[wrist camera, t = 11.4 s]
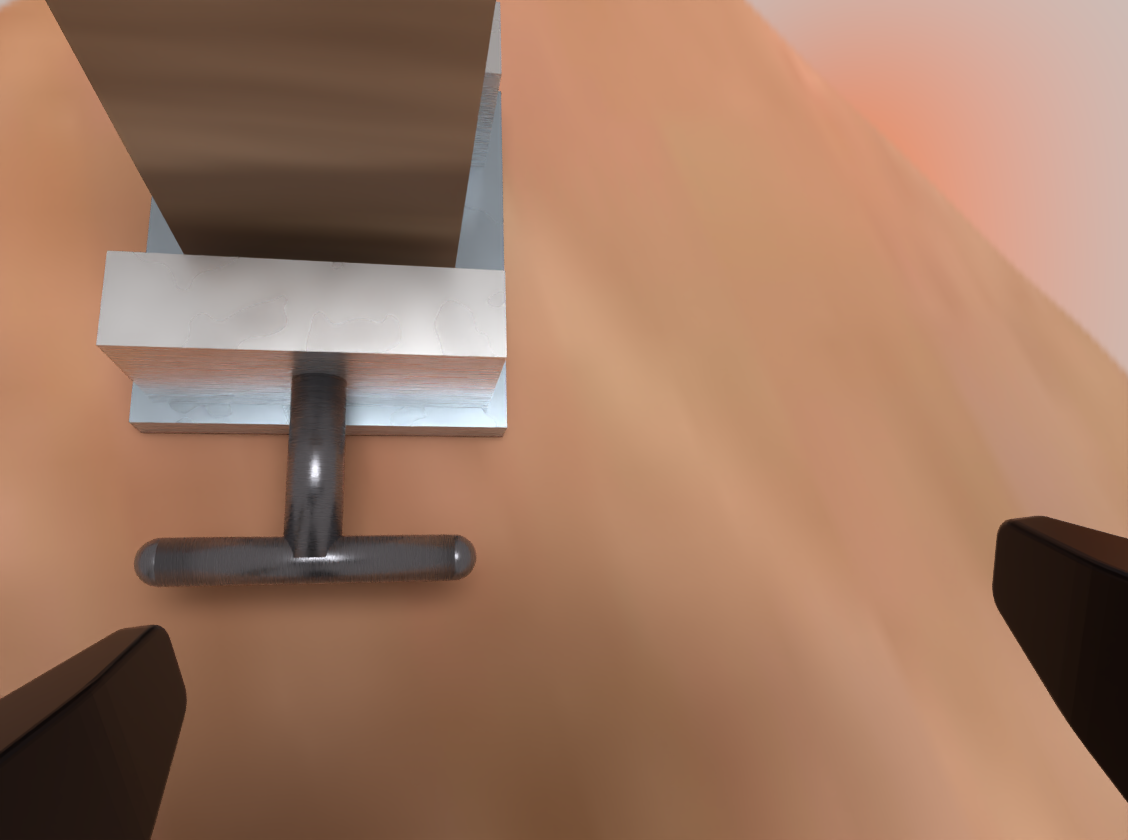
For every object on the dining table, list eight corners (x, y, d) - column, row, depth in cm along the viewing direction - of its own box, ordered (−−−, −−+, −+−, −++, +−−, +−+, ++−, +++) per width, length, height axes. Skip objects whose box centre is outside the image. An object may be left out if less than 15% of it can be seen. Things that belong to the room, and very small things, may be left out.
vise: (504, 587, 21) (535, 571, 17) (125, 596, 20) (38, 581, 15) (496, 112, 25) (520, -13, 20) (175, 84, 23) (117, -60, 18)
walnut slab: (448, 307, 22) (514, -125, 10) (207, 297, 21) (-70, -210, 8) (449, 189, 23) (511, -345, 11) (217, 172, 22) (-18, -449, 9)
